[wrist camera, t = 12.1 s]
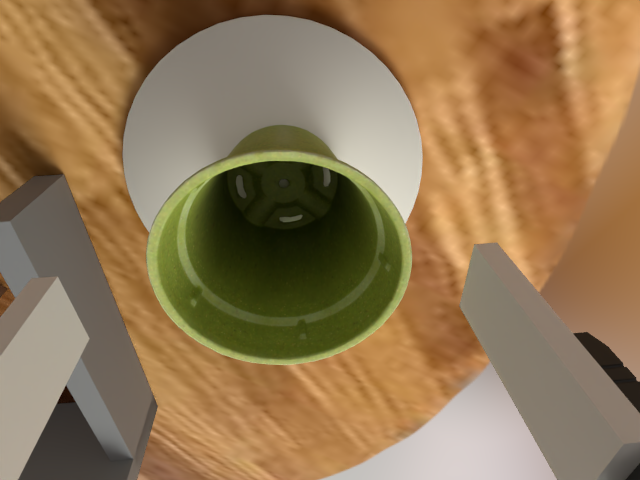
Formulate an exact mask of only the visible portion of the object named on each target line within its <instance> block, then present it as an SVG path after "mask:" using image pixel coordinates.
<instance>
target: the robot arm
mask: <svg viewBox="0 0 640 480" xmlns="http://www.w3.org/2000/svg"><path fill="white" fill-rule="evenodd" d="M460 308H461V310H462V312H463V313H464V315H465V317H466V319H467V320H468V322H469V324H470V326H471V328H472V329H473V331H474V333H475V335H476V336H477V338H478V340H479V342H480V343H481V345H482V347H483V349H484V351H485V352H486V354H487V356H488V358H489V359H490V361H491V363H492V365H493V367H494V368H495V370H496V372H497V374H498V375H499V377H500V379H501V381H502V383H503V384H504V386H505V388H506V389H507V391H508V393H509V395H510V397H511V398H512V400H513V402H514V404H515V406H516V407H517V409H518V411H519V413H520V414H521V416H522V418H523V419H524V422H525V423H526V425H527V427H528V428H529V430H530V432H531V434H532V436H533V437H534V439H535V441H536V443H537V445H538V446H539V448H540V450H541V452H542V453H543V455H544V457H545V459H546V460H547V462H548V464H549V466H550V468H551V469H552V471H553V473H554V475H555V476H556V478H557V480H640V382H637V380H636V377H635V376H634V375H633V374H632V373H631V372H630V370H629V369H628V368H627V367H624V366H623V363H622V362H621V361H620V359H619V358H618V357H617V356H616V355H615V354H614V353H613V352H612V351H611V349H610V348H609V347H608V346H606V345H605V344H604V343H602V342H601V341H599V340H598V339H596V338H595V337H593V336H592V335H590V334H589V333H588V332H584V333H572V332H571V331H570V330H569V328H568V327H567V326H566V325H565V324H564V323H563V321H562V320H561V319H560V318H559V316H558V315H557V314H556V313H555V312H554V310H553V309H552V308H551V307H550V306H549V304H548V303H547V302H546V301H545V300H544V299H543V297H542V296H541V295H540V294H539V292H538V291H537V290H536V289H535V288H534V286H533V285H532V284H531V283H530V282H529V281H528V279H527V278H526V277H525V276H524V275H523V273H522V272H521V271H520V270H519V269H518V267H517V266H516V265H515V264H514V263H513V261H512V260H511V259H510V258H509V257H508V255H507V254H506V253H505V252H504V251H503V250H502V248H501V247H500V246H499V245H498V244H497V243H487V244H474V248H473V252H472V256H471V260H470V264H469V269H468V273H467V277H466V281H465V285H464V289H463V293H462V298H461V302H460ZM89 339H90V338H89V337H88V335H87V333H86V331H85V329H84V327H83V325H82V323H81V321H80V319H79V317H78V315H77V313H76V311H75V309H74V307H73V305H72V303H71V301H70V299H69V298H68V296H67V294H66V292H65V290H64V288H63V286H62V284H61V282H60V280H59V278H58V276H57V277H44V278H31V280H30V281H29V282H28V283H27V285H26V286H25V287H24V288H23V290H22V291H21V292H20V293H19V295H18V296H17V297H16V298H15V300H14V301H13V302H12V303H11V305H10V306H9V307H8V308H7V310H6V311H5V312H4V313H3V315H2V316H1V317H0V480H18V479H19V477H20V475H21V473H22V471H23V469H24V467H25V465H26V463H27V461H28V459H29V457H30V455H31V453H32V451H33V449H34V447H35V445H36V443H37V441H38V439H39V437H40V435H41V433H42V431H43V429H44V427H45V425H46V423H47V421H48V419H49V418H50V416H51V414H52V412H53V410H54V408H55V406H56V404H57V402H58V400H59V398H60V396H61V394H62V392H63V390H64V388H65V386H66V384H67V382H68V380H69V378H70V376H71V374H72V372H73V370H74V368H75V366H76V364H77V362H78V360H79V358H80V356H81V354H82V352H83V350H84V349H85V347H86V345H87V343H88V341H89Z"/></svg>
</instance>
